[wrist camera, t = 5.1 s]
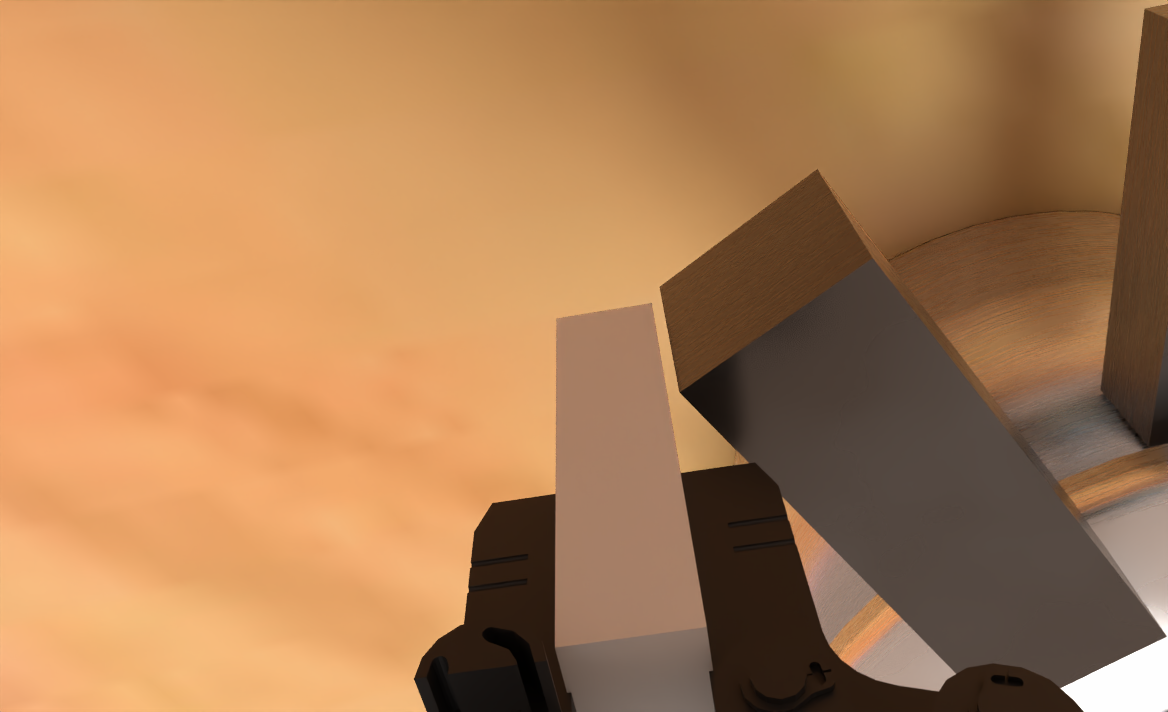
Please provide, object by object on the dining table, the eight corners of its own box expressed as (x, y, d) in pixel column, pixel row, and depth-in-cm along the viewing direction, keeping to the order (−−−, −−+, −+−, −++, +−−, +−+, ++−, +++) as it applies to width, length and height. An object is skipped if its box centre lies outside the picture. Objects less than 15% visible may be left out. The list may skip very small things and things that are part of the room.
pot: (1224, 642, 37) (1445, 936, 28) (762, 706, 39) (826, 1006, 30) (1415, -159, 23) (2008, -100, 14) (664, -8, 24) (729, 139, 15)
